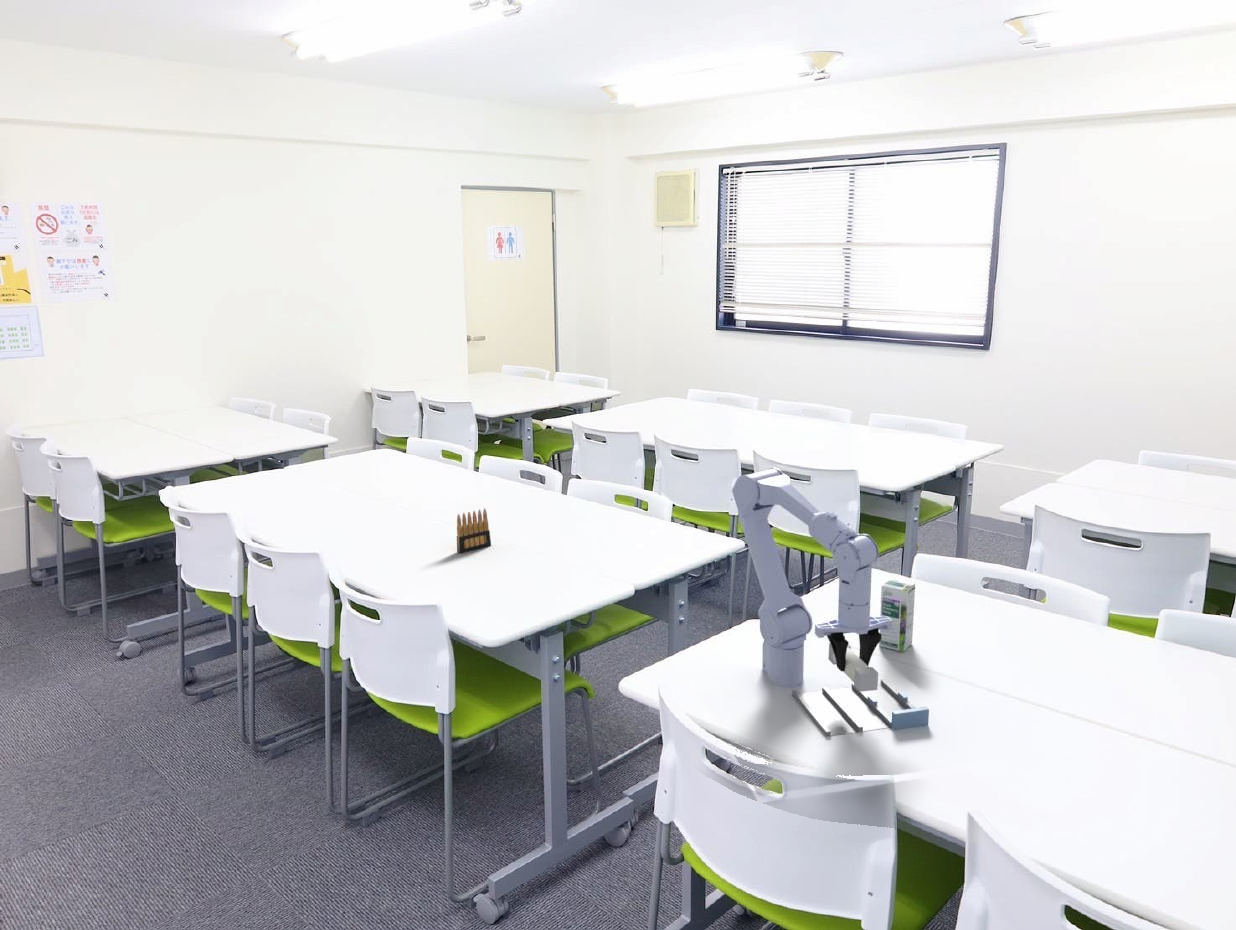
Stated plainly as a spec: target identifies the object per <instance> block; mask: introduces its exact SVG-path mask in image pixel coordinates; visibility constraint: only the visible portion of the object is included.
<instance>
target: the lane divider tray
mask: <svg viewBox="0 0 1236 930" xmlns="http://www.w3.org/2000/svg"><path fill="white" fill-rule="evenodd" d="M821 688H822V689H821V691H813V692H812V691H811V692H806V693H805V692H804V693H800V692H798V690H796V689H795V690H791V694H792V695H791V696H792V697H793V698H794V699H795V701H796V702H797V703H798V704H799V705H800V706H801V708H802V709H803V710H804V711H805V713H806V714H807V715H808V717H809V718H810V719H811V720H812V721H813V722H814V724H815V725H816V726H817V727H818V728H819V729H820V731H821V732H822V733H823V735H825V737H828V738H829V737H834V736H841V735H848V734H855V733H856V734H857V733H862V732H868V731H869V732H870V731H875V730H882V729H883V730H884V729H889V728H890V729H892V730H893V731H898V730H905V729H906V730H907V729H912V728H918V727H927V726H929V720H930V719H929V715H930V708H928V707H927V706H923V707H922V706H921V707H915V706H914V704H912V703H911V702H910V701H909V697H908V696H907V695H906V694H905V693H904V692H903V691H898V690H897V689H896V688H895V687H894V686H893V685H892V684H891V683H890V682H889V681H887V680H886V679H885V678H881V679H880V682H878V686H877V690H872V691H863V692H860V691H859V690H858V689H857V688H856V687H855V686H854V682H852V683H851V686H850V687H843V688H836V689H829V688H828V687H827V686H822V687H821Z"/></svg>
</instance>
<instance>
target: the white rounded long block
mask: <svg viewBox="0 0 1236 930" xmlns="http://www.w3.org/2000/svg"><path fill="white" fill-rule="evenodd" d="M851 648H852V647H851V646H850V645H849V643H848V646H847V651H846V667H845V671H842V673H844V674H845V675H846V676H847V677H848V678H849V679H850V680H851V681H852V683H854V686H855V687H856V688H857V689H858V690H859V691H860V692H863V691H872V690H877V686H878V684H879V681H878V680H879V672H878V671H877V670H876V669H875V668H874V667H873V666H869V665H868V666H867V665H866V664H865V663H864V662H863V661H862V660H861V659H860V658H859V656H858V655H857V654H856V653H855V652H854V651H853V650H852V649H851ZM827 658H828V661H829V662H830V663H831V664H832V665H833V666H834V665H836V666H837V664H836V658H835V655H834V651H833V648H832V646H831V644H830V642H829V643H828V657H827Z"/></svg>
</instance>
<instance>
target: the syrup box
mask: <svg viewBox="0 0 1236 930" xmlns="http://www.w3.org/2000/svg"><path fill="white" fill-rule="evenodd" d="M880 592H881V593H880V616H879V617H886V616H887V617H889V618H890V619H891V620H892V630H886V629H879V633H880V634H881V635H882V636H881V641H880V642H879V643H878V647H880V648H884V649H890V650H894V651H897V652H901V653H904V652H905V651H906V650H907V649H908V648H909V647H910V646H911V645H912V643H913V631H914V613H915V596H916V583H914V582H910V581H909V582H907V581H904V580H898V579H895V578H889V579H888V580H886V581H885V582H884V583H883V584H882V585H881V591H880Z"/></svg>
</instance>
